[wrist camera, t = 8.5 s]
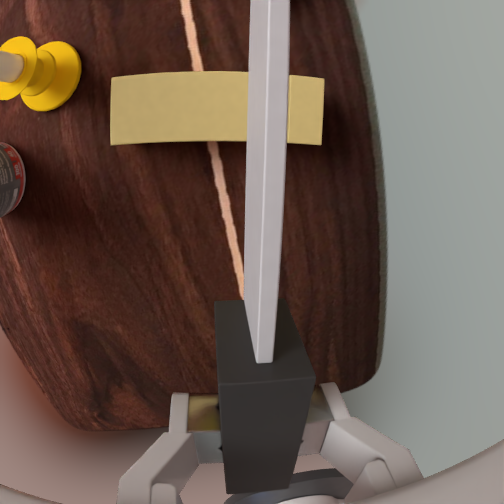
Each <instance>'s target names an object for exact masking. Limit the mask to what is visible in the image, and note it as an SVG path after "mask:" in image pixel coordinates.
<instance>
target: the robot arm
mask: <svg viewBox="0 0 504 504" xmlns="http://www.w3.org/2000/svg"><path fill="white" fill-rule="evenodd" d="M316 453H320V455H321V456H322V457H323V458H324V459H326V460H327V461H328V462H329V463H330V464H331V465H332V466H333V467H335V468H336V469H337V470H338V471H339V472H340V473H341V474H343V475H344V476H345V477H346V478H347V479H349V480H350V481H351V482H352V483H353V484H354V485H353V487H352V488H351V490H350V491H349V493H348V494H347V496H346V497H345V499H336V498H334V497H332V496H328V495H314V496H306V497H300V498H295V499H291V500H287V501H283V502H280V503H277V504H504V439H503V440H502V441H500V442H498V443H497V444H495V445H493V446H491V447H489V448H488V449H486V450H484V451H482V452H480V453H478V454H476V455H475V456H473V457H471V458H469V459H467V460H464V461H462V462H460V463H458V464H456V465H454V466H452V467H450V468H448V469H445V470H443V471H441V472H438V473H436V474H434V475H431V476H429V477H427V478H423V476H422V474H421V472H420V470H419V468H418V466H417V464H416V462H415V460H414V458H413V456H412V455H411V453H410V451H409V449H407V448H405V447H404V446H402V445H400V444H398V443H397V442H395V441H393V440H392V439H390V438H389V437H387V436H385V435H384V434H382V433H380V432H379V431H377V430H376V429H374V428H372V427H371V426H369V425H368V424H366V423H364V422H363V421H361V420H360V419H358V418H357V417H351V416H350V414H349V412H348V409H347V407H346V405H345V403H344V400H343V398H342V396H341V394H340V392H339V389H338V387H337V385H336V384H335V383H334V382H332V383H325V384H319V385H318V384H317V385H314V390H313V394H312V399H311V403H310V408H309V412H308V416H307V421H306V425H305V429H304V433H303V437H302V441H301V445H300V449H299V453H298V456H301V455H309V454H316ZM200 463H201V464H202V463H224V461H223V449H222V436H221V422H220V408H219V393H173V395H172V400H171V411H170V423H169V432H168V433H165V432H164V433H163V434H162V435H161V436H160V437H159V439H158V440H157V441H156V442H155V443H154V444H153V445H152V446H151V447H150V448H149V449H148V450H147V451H146V452H145V453H144V454H143V455H142V456H141V458H140V459H138V461H137V462H136V463H135V464H134V465H133V466H132V467H131V468H130V469H129V470H128V471H127V472H126V473H125V474H124V475H123V476H122V477H121V478H120V481H119V488H118V495H117V503H116V504H183V503H182V500H181V498H180V495H179V493H180V492H181V491H182V489H183V488H184V486H185V485H186V483H187V482H188V480H189V479H190V477H191V476H192V474H193V473H194V471H195V470H196V469H197V467H198V466H199V464H200ZM0 504H61V503H57V502H53V501H50V500H46V499H42V498H39V497H36V496H33V495H30V494H27V493H24V492H20V491H18V490H15V489H12V488H9V487H7V486H4V485H1V484H0Z"/></svg>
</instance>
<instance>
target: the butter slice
mask: <svg viewBox="0 0 504 504" xmlns="http://www.w3.org/2000/svg"><path fill="white" fill-rule="evenodd" d="M323 104H324V79H322V78H314V77H305V76H296V75H290V76H289V91H288V122H287V143H294V144H310V145H321V144H322V126H323Z"/></svg>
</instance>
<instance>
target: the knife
mask: <svg viewBox="0 0 504 504" xmlns="http://www.w3.org/2000/svg"><path fill="white" fill-rule="evenodd" d="M289 48H290V0H251V8H250V40H249V75H248V112H247V154H246V200H245V252H244V300H234V301H215V302H214V310H215V335H216V356H217V375H218V392H219V408H220V422H221V436H222V449H223V461H224V472H225V483H226V493H227V494H241V493H254V492H264V491H273V490H281V489H288V488H289V486H290V482H291V479H292V475H293V471H294V468H295V464H296V460H297V456H298V453H299V449H300V445H301V441H302V437H303V433H304V429H305V425H306V421H307V416H308V412H309V408H310V403H311V399H312V394H313V390H314V385H315V380H316V375H315V373H314V370H313V368H312V365H311V363H310V360H309V358H308V355H307V353H306V350H305V348H304V345H303V343H302V340H301V338H300V335H299V333H298V330H297V328H296V325H295V323H294V320H293V318H292V315H291V313H290V310H289V308H288V305H287V303H286V301H285V299H284V298H283V299H278V290H279V276H280V260H281V245H282V228H283V210H284V191H285V170H286V148H287V122H288V91H289Z"/></svg>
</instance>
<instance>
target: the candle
mask: <svg viewBox="0 0 504 504" xmlns="http://www.w3.org/2000/svg"><path fill="white" fill-rule="evenodd" d="M80 75H81V60H80V57H79V54H78V53H77V51H76V50H75V48H73V47H72V46H70V45H69V44H67V43H64V42H60V41H57V42H50V43H47V44H44V45H43V46H41V47H40V48H38V49H37V50H36V46H35V45H34V43H33V41H31V40H30V39H29V38H26V37H22V36H21V37H15V38H13V39H10V40H8V41H7V42H6V43H4V44H3V45H2V46H1V47H0V100H9V99H12V98H14V97H16V96H17V95H19V94H21V98H22V99H23V101H24V103H25V104H26V105H27V106H28V107H29V108H31V109H33V110H36V111H49V110H53V109H56V108H57V107H59V106H61V105H62V104H64V103H65V102H66V101H67V100H68V99H69V98H70V97H71V95H72V94H73V92H74V91H75V89H76V87H77V85H78V82H79V80H80Z"/></svg>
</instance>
